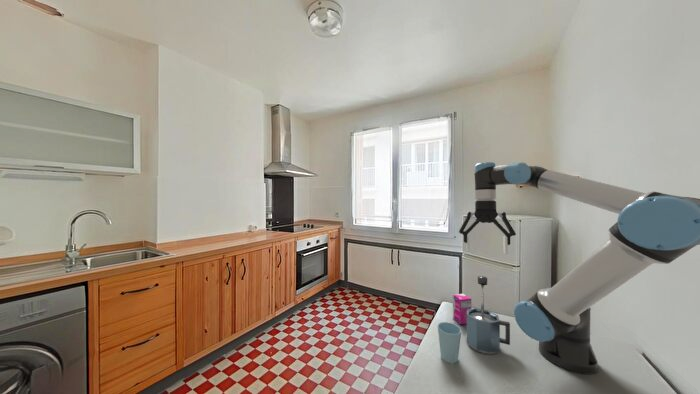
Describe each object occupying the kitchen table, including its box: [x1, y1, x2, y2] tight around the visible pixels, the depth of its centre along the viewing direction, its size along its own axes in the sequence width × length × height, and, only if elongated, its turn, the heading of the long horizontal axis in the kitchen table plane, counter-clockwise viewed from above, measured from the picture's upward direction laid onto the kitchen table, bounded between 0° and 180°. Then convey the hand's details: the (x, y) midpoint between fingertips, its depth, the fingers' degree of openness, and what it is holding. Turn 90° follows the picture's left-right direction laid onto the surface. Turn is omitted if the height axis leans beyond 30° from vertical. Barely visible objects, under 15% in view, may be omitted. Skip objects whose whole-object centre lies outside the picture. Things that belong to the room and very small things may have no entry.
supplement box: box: [452, 293, 472, 326], centre depth 106 cm, size 6×6×12 cm
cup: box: [437, 321, 462, 364], centre depth 81 cm, size 8×8×10 cm
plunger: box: [470, 275, 495, 322], centre depth 88 cm, size 8×8×16 cm
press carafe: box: [466, 307, 511, 356], centre depth 88 cm, size 14×11×12 cm
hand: (486, 251), depth 96 cm, fingers open, 13 cm apart
